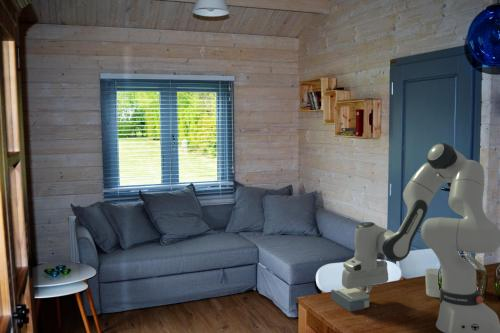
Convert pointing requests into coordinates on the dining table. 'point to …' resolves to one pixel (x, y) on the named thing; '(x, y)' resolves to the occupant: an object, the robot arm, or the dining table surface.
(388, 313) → the dining table surface
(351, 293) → the cream rectangular block
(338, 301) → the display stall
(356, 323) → the dining table surface
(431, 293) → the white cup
